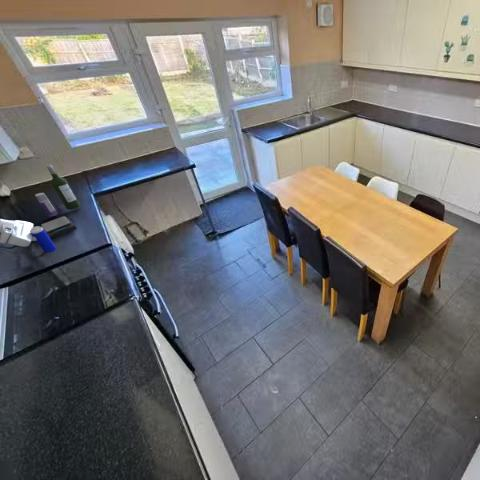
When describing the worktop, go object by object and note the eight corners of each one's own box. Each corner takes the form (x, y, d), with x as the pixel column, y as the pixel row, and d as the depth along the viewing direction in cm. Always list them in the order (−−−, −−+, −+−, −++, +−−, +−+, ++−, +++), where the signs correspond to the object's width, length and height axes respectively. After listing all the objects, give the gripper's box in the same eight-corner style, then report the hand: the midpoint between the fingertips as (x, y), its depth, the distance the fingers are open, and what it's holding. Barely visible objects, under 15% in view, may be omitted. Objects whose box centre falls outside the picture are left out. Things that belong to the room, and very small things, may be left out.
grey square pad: (47, 232, 162) (46, 231, 161) (41, 225, 168) (41, 224, 167) (70, 223, 169) (69, 222, 168) (65, 217, 175) (64, 216, 174)
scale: (49, 239, 161) (46, 235, 159) (42, 229, 169) (39, 225, 168) (76, 228, 170) (74, 224, 168) (69, 219, 178) (66, 216, 176)
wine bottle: (73, 204, 193) (49, 163, 176) (83, 204, 192) (59, 163, 175) (63, 209, 187) (37, 167, 170) (73, 209, 186) (48, 167, 169)
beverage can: (56, 246, 150) (41, 224, 141) (58, 251, 148) (43, 229, 138) (44, 250, 147) (28, 228, 138) (45, 255, 145) (29, 233, 135)
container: (47, 215, 182) (33, 195, 173) (54, 212, 185) (41, 192, 176) (51, 216, 180) (37, 196, 172) (59, 213, 184) (46, 193, 175)
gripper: (5, 224, 140) (41, 233, 150) (-1, 244, 127) (39, 252, 137) (10, 214, 139) (46, 223, 149) (5, 233, 126) (45, 242, 137)
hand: (43, 237), depth 143 cm, fingers closed on beverage can, 3 cm apart
